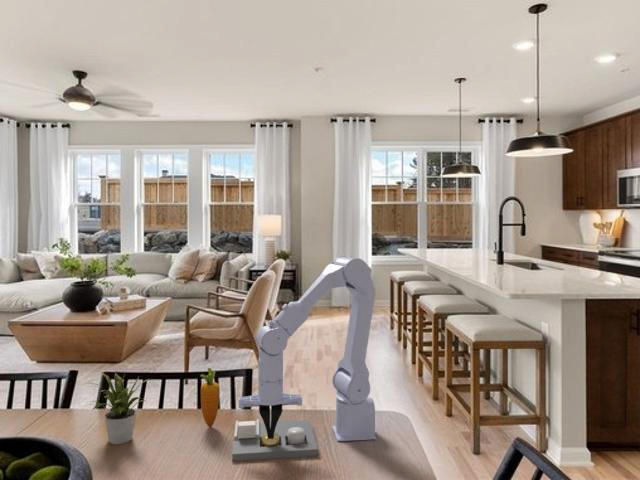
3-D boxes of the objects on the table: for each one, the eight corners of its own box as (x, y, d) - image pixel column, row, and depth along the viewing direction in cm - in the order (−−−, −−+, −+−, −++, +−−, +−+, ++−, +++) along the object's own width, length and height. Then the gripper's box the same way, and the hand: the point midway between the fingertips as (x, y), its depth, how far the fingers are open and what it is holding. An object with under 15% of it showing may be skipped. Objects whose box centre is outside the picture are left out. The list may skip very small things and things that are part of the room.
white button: (303, 437, 112) (303, 426, 112) (305, 444, 108) (305, 434, 108) (287, 438, 111) (287, 427, 111) (288, 445, 107) (288, 435, 107)
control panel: (309, 425, 121) (309, 416, 121) (318, 455, 105) (318, 445, 105) (235, 429, 118) (235, 420, 118) (232, 460, 103) (232, 450, 103)
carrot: (215, 432, 117) (215, 372, 116) (196, 430, 118) (196, 371, 117) (223, 424, 121) (223, 367, 121) (205, 422, 122) (205, 365, 122)
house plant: (69, 444, 110) (68, 375, 109) (119, 422, 122) (118, 360, 122) (110, 458, 103) (109, 385, 103) (158, 434, 115) (158, 368, 115)
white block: (255, 433, 112) (255, 420, 112) (255, 437, 110) (255, 425, 110) (238, 434, 112) (238, 421, 112) (238, 438, 109) (238, 425, 109)
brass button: (278, 442, 111) (278, 432, 111) (279, 450, 107) (279, 439, 107) (261, 443, 110) (261, 432, 110) (261, 451, 106) (261, 440, 106)
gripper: (300, 372, 113) (299, 427, 114) (239, 374, 111) (239, 430, 112) (303, 381, 106) (302, 440, 107) (238, 384, 104) (238, 444, 105)
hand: (270, 436), depth 109 cm, fingers closed, pressing on brass button
